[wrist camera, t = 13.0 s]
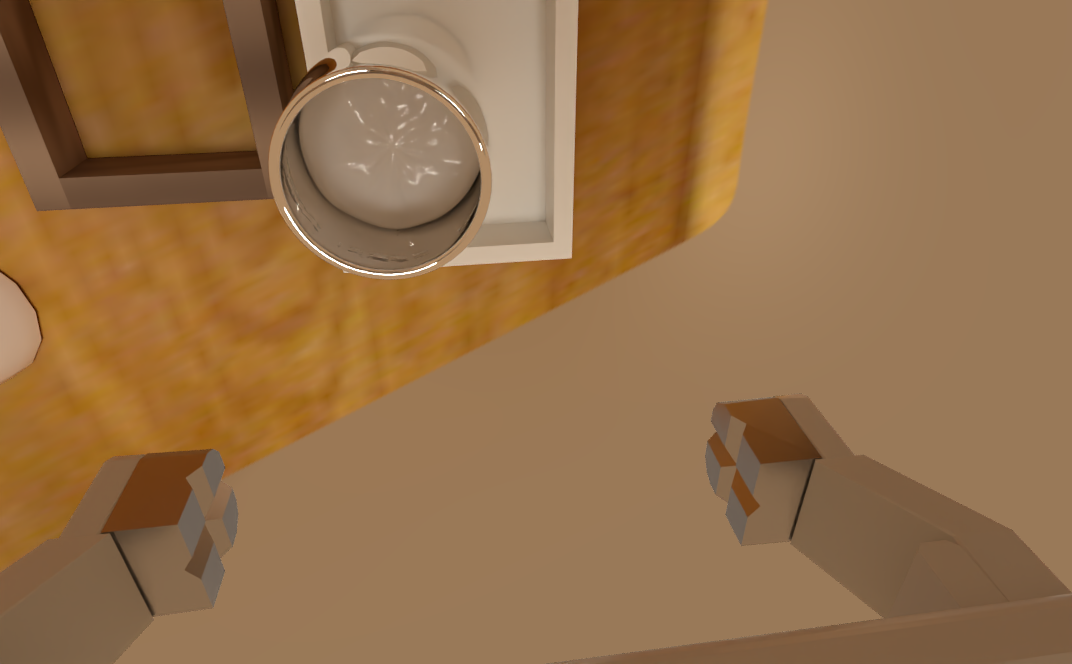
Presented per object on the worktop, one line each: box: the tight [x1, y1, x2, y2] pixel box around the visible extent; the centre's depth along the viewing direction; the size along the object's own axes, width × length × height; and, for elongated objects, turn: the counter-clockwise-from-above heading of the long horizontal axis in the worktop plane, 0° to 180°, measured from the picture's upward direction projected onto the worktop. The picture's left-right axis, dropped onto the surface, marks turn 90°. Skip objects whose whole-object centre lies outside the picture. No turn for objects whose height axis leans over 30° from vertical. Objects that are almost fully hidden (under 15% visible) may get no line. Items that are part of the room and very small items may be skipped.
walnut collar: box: [0, 0, 293, 211], centre depth 30 cm, size 12×12×3 cm
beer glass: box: [268, 14, 493, 279], centre depth 26 cm, size 7×7×15 cm
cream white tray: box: [295, 0, 578, 273], centre depth 32 cm, size 16×12×4 cm
